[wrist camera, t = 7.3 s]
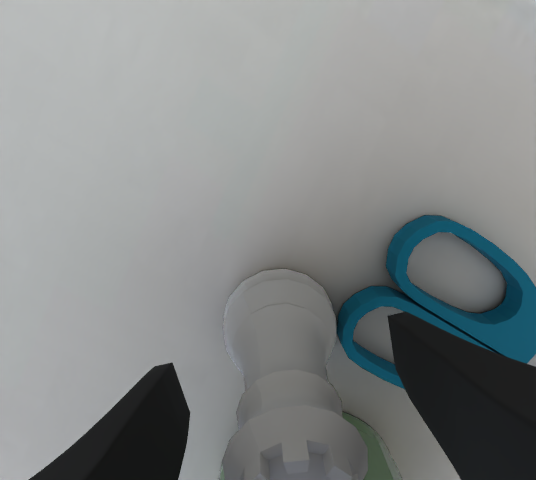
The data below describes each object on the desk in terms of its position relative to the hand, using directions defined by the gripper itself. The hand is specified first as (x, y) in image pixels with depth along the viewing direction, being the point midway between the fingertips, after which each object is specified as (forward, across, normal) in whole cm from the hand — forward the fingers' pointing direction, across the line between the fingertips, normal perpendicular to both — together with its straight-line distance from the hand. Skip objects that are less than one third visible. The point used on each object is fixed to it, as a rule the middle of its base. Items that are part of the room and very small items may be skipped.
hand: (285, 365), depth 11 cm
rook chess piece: (+3, 0, 0) cm, 4 cm away
